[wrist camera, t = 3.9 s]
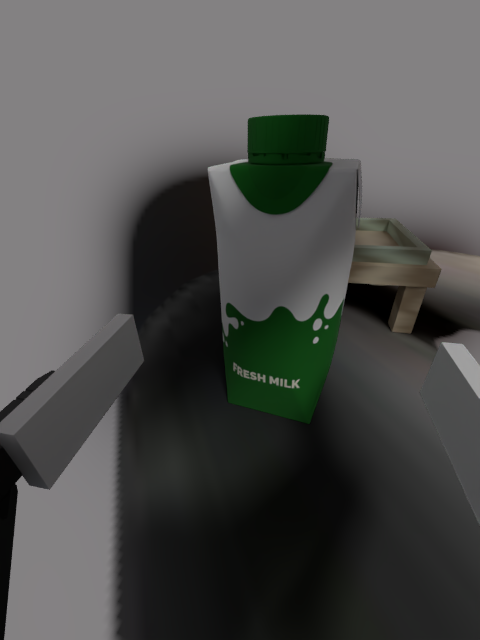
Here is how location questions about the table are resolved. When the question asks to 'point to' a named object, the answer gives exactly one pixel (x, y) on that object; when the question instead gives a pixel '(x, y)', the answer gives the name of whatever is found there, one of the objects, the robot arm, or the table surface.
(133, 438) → the table surface
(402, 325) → the stool
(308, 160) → the milk carton
